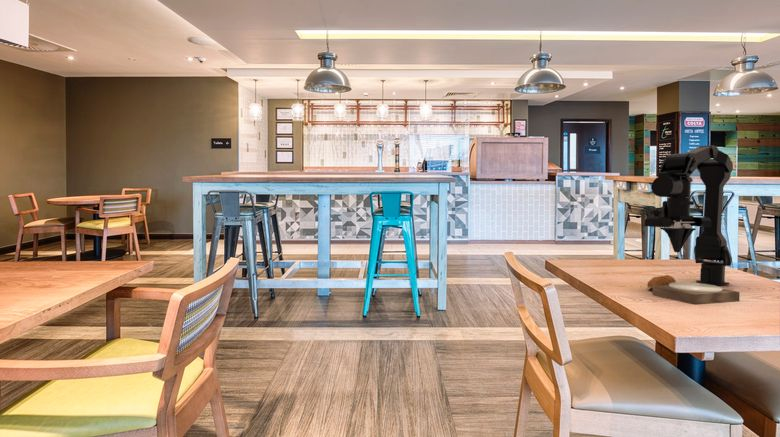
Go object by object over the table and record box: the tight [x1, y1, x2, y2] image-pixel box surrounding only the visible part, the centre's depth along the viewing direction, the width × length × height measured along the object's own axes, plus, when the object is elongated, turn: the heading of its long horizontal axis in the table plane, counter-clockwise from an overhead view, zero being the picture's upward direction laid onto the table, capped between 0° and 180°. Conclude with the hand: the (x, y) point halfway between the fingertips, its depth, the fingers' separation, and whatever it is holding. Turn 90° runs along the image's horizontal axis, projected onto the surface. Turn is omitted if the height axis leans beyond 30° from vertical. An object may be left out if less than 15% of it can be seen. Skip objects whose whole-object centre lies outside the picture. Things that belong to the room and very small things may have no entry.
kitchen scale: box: [652, 281, 741, 305], centre depth 131 cm, size 16×13×3 cm
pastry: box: [646, 274, 677, 289], centre depth 142 cm, size 9×7×4 cm
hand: (676, 252), depth 136 cm, fingers closed
